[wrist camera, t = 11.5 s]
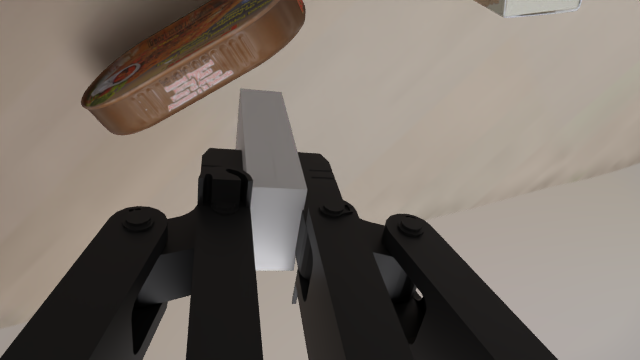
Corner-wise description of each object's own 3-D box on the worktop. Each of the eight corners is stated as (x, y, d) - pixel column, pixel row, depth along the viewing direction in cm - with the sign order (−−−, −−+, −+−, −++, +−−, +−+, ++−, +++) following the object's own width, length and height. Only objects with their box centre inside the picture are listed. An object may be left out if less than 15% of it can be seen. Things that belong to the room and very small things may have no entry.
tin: (282, -43, 32) (294, -20, 25) (304, 1, 33) (322, 35, 26) (95, 68, 34) (57, 118, 27) (125, 104, 35) (97, 160, 28)
